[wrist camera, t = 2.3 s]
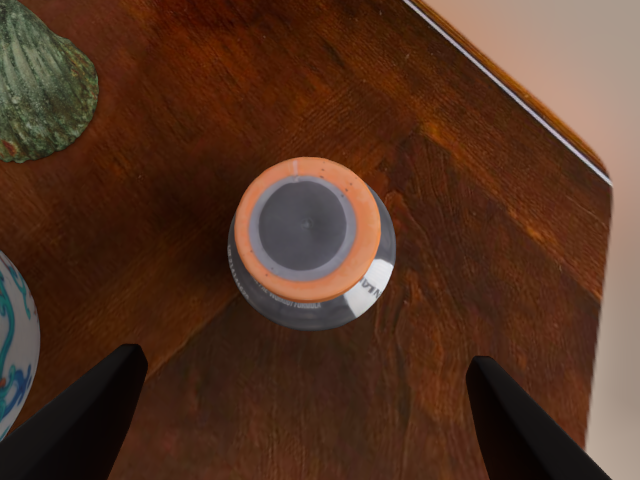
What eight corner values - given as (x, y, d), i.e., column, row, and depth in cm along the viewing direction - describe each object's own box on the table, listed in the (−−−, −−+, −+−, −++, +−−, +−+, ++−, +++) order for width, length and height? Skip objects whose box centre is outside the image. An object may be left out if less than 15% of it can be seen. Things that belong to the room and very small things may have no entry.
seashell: (-157, 121, 18) (-94, -40, 20) (-72, 155, 22) (-27, 19, 24) (44, 143, 18) (86, -16, 20) (90, 173, 22) (121, 38, 24)
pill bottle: (388, 281, 20) (468, 253, 9) (304, 342, 19) (275, 394, 8) (329, 201, 21) (333, 83, 10) (247, 257, 20) (152, 199, 9)
